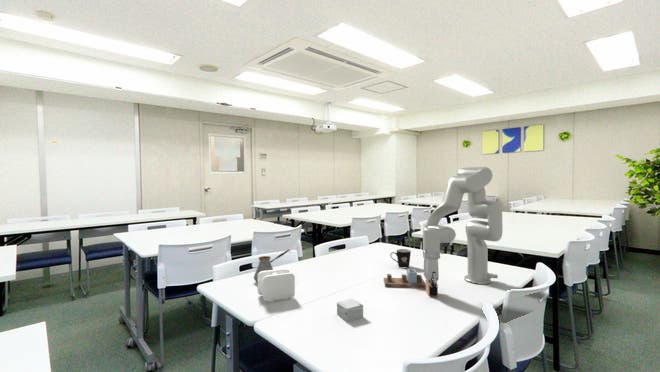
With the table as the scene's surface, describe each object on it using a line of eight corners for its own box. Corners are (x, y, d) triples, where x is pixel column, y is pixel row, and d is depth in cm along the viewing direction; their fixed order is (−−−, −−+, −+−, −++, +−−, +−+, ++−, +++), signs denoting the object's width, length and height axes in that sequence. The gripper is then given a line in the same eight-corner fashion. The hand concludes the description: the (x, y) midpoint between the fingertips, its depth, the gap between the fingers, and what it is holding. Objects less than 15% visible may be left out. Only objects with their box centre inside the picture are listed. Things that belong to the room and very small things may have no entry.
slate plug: (414, 279, 161) (414, 268, 161) (416, 283, 154) (416, 272, 154) (406, 279, 161) (406, 268, 161) (408, 283, 155) (408, 272, 155)
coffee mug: (412, 266, 191) (412, 249, 191) (408, 269, 184) (408, 252, 184) (394, 263, 198) (394, 247, 197) (389, 266, 190) (389, 250, 190)
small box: (336, 314, 123) (336, 301, 123) (352, 310, 127) (352, 298, 127) (346, 322, 116) (346, 308, 116) (363, 317, 120) (363, 304, 120)
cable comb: (422, 281, 162) (422, 272, 162) (426, 287, 152) (426, 278, 152) (383, 280, 164) (383, 272, 164) (385, 286, 154) (385, 277, 154)
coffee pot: (259, 287, 155) (259, 257, 155) (250, 281, 164) (249, 253, 164) (295, 278, 169) (295, 251, 168) (285, 273, 178) (284, 247, 177)
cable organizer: (261, 304, 134) (261, 277, 134) (257, 295, 144) (257, 270, 144) (295, 298, 140) (294, 273, 140) (288, 291, 150) (288, 267, 149)
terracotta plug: (434, 291, 147) (434, 279, 147) (437, 296, 140) (437, 284, 140) (425, 291, 147) (425, 279, 147) (428, 296, 141) (428, 284, 141)
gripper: (419, 250, 152) (419, 286, 153) (427, 259, 135) (427, 299, 136) (435, 250, 152) (435, 286, 152) (444, 259, 135) (445, 300, 135)
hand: (431, 292), depth 144 cm, fingers closed on terracotta plug, 6 cm apart
